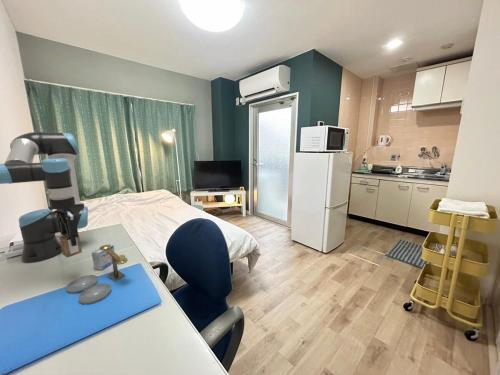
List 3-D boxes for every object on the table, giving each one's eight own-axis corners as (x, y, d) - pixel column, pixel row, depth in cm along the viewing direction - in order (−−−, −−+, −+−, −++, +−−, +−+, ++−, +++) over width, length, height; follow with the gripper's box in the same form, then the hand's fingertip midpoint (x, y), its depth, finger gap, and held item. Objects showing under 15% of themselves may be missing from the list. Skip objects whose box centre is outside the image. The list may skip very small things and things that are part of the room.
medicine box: (102, 270, 95) (99, 253, 93) (93, 269, 96) (91, 252, 94) (116, 261, 102) (114, 245, 101) (108, 260, 103) (106, 244, 101)
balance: (102, 273, 93) (98, 247, 90) (111, 268, 96) (108, 243, 94) (122, 285, 84) (118, 258, 82) (131, 280, 88) (128, 253, 85)
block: (62, 254, 88) (59, 236, 86) (76, 249, 92) (73, 232, 90) (67, 257, 85) (63, 239, 83) (81, 252, 89) (78, 235, 88)
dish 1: (62, 287, 83) (61, 284, 83) (91, 274, 92) (90, 271, 91) (73, 296, 78) (72, 293, 78) (102, 282, 86) (102, 279, 86)
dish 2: (74, 297, 78) (73, 294, 77) (103, 283, 86) (103, 280, 86) (86, 308, 73) (85, 305, 72) (116, 291, 81) (116, 288, 81)
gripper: (41, 196, 85) (52, 248, 89) (58, 203, 75) (69, 260, 80) (64, 192, 91) (73, 241, 96) (83, 198, 82) (91, 252, 87)
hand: (71, 250), depth 88 cm, fingers closed on block, 5 cm apart
